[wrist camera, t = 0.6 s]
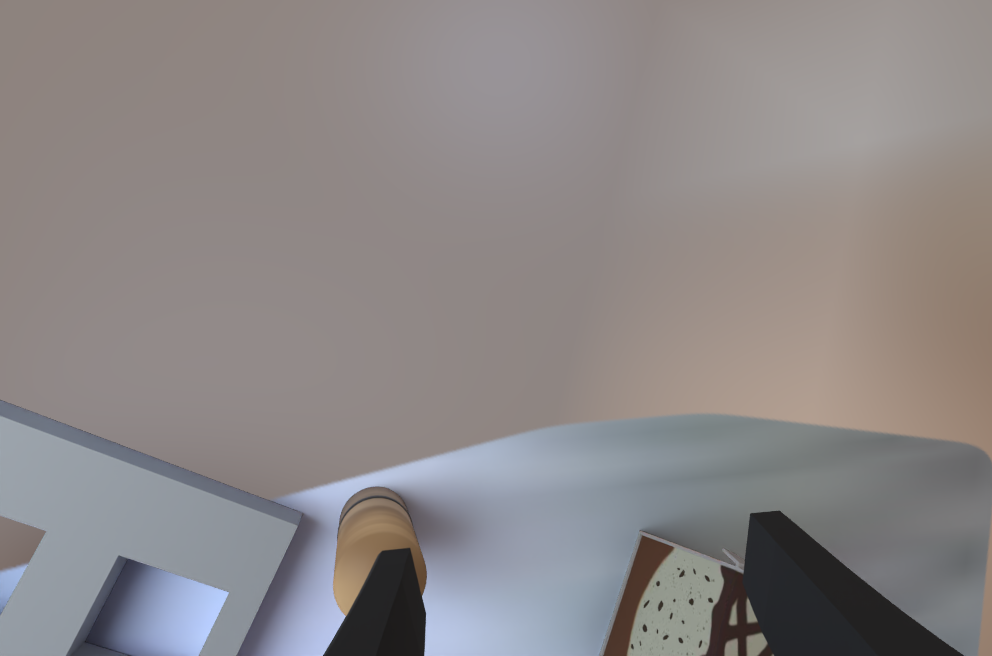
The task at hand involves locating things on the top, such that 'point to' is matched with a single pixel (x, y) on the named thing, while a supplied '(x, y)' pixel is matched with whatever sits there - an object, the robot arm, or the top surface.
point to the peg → (371, 540)
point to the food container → (682, 605)
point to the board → (124, 534)
